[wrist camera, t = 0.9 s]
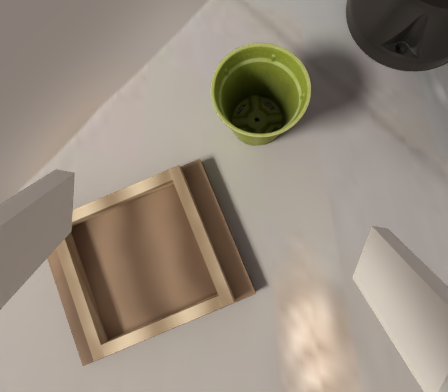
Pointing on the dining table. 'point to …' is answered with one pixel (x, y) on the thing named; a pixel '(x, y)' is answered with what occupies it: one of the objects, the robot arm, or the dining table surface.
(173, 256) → the walnut pot stand
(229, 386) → the dining table surface
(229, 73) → the plant pot
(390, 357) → the dining table surface
